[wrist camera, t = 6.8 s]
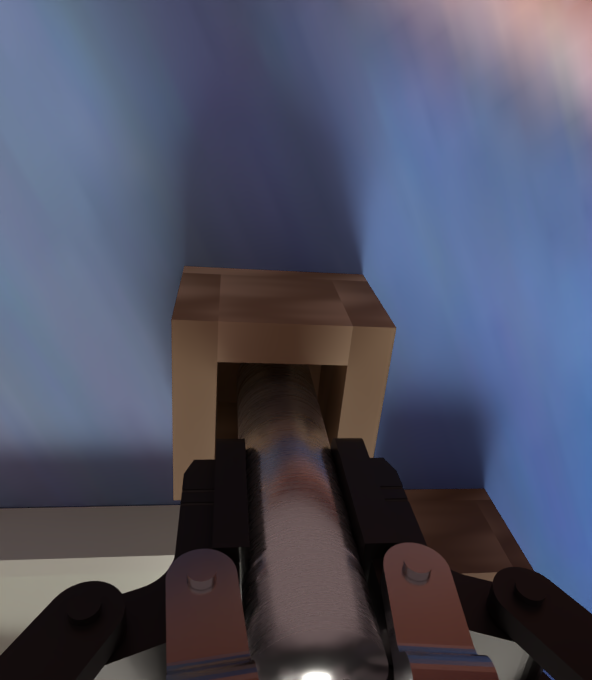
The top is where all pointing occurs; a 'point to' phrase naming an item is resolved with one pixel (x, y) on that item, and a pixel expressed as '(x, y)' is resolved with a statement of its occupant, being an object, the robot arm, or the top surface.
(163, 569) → the tray
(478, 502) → the walnut block
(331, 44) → the top surface
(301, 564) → the cylinder
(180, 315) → the oak block
